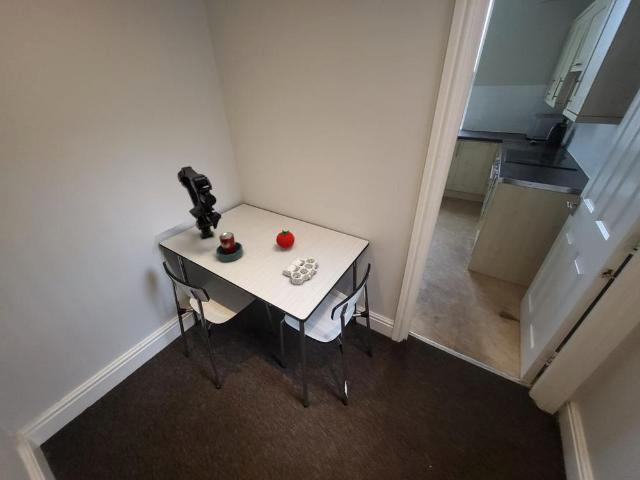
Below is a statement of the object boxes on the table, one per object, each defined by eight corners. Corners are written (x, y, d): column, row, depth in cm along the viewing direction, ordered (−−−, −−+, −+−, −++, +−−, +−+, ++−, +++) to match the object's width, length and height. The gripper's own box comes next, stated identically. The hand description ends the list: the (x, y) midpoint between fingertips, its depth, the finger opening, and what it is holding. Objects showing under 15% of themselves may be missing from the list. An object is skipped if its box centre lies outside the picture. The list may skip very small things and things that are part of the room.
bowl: (213, 254, 140) (211, 248, 137) (235, 245, 147) (234, 238, 145) (225, 265, 132) (223, 258, 129) (247, 255, 139) (246, 248, 137)
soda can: (229, 259, 135) (224, 240, 128) (220, 254, 139) (216, 235, 132) (240, 253, 140) (236, 234, 133) (232, 248, 144) (227, 230, 137)
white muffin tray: (299, 258, 137) (323, 266, 131) (279, 277, 123) (304, 288, 117) (299, 253, 135) (323, 261, 129) (278, 272, 122) (304, 282, 116)
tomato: (273, 246, 146) (271, 231, 141) (286, 239, 152) (285, 225, 147) (285, 254, 140) (283, 238, 135) (298, 246, 146) (298, 231, 141)
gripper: (181, 199, 133) (189, 225, 141) (196, 210, 121) (204, 237, 130) (202, 193, 139) (209, 218, 148) (218, 203, 128) (224, 230, 136)
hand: (211, 226), depth 140 cm, fingers open, 9 cm apart
